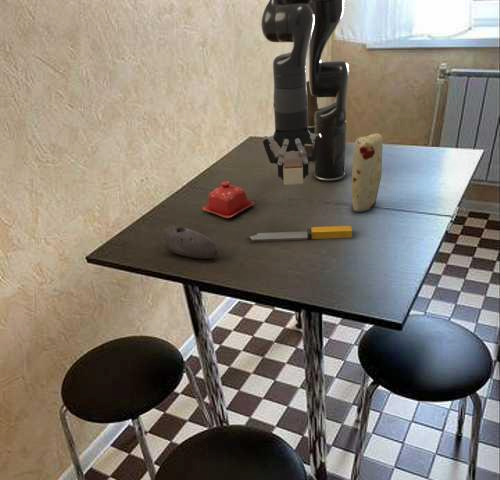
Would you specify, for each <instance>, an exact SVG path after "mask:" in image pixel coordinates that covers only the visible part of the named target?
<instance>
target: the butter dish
mask: <svg viewBox="0 0 500 480" xmlns="http://www.w3.org/2000/svg"><path fill="white" fill-rule="evenodd" d="M220 185H221V186H218V187H217V188H215V189H214V190H212V191H211V192H210V193H209V195H208V204H206V205H205V206H203V207H202V210H203V211H205V212H207V213H208V212H209V213H210V214H214V215H217V216H219V217H221V218H224V219H231V218H232V217H235V216H236V215H238V214H240V213H241V212H243V211H245V210H247V209H248V208H250V207H252V206H253V205H254V204H255V202H254V201H252V200H250V199H248V196H247V194H246V191H245V190H244V188H242V187H239V186H237V185H233V184H231V182H230V181H227V180H225V181H222V182H221V183H220Z"/></svg>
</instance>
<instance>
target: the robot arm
mask: <svg viewBox="0 0 500 480" xmlns="http://www.w3.org/2000/svg"><path fill="white" fill-rule="evenodd" d="M344 3H345V0H269V1H268V3H266V6H265V8H264V10H263V13H262V17H261V31H262V34H263V37H264V38H265V39H266V40H267V41H268V42H271V43H293V47H292V49H291V52H290V51H289V52H287V53H282V54H279V55H277V56H275V57H274V59H273V61H272V77H273V112H274V114H273V115H274V132H273V134H272V135H270V136H267V135H265V136H263V139H262V144H263V147H264V150H265V153H266V156H267V158H268V160H269V163H270V164H275V165H277V176H278V178H280V180H283V181H284V176H283V165H284V158H286V157H285V156H286V153H288V152H289V153H290V152H298V153H299V156H300V157H301V158H302V164H303V179H306V178H307V177H308V176H309V174H310V173H309V165H310V164H309V163H310V162H312V163H314V178H315V179H316V180H317V181H320V182H326V183H330V182H331V183H332V182H337V181H341V180H342V179H344V178H345V176H346V172H345V170H346V145H347V144H346V142H347V141H346V140H347V102H348V90H349V80H350V69H349V64H348V63H347V62H346V60H345V61H344V60H333V61H329V60H328V61H322V55H323V52H324V50H325V48H326V46H327V44H328V42H329V40H330V39H331V37H332V35H333V33H334V32H335V30H336V29H337V27H338V25H339V23H340V21H341V20H342V18H343V14H344V10H345V9H344V8H345V7H344V5H345V4H344ZM307 59H308V81H309V87H310V92H311V94H312V96H314V97H317V98H335V100H334V101H333V102H331V103H330V104H327V105H324V106H322V107H320V108H319V109H318V110H317V111H316V112H315V134H314V133H310V131H309V129H308V95H307V87H306V82H307ZM309 138H311V141H312V143H313V147H312V151H311V154H309V155H307V153H306V150H305V147H304V145H305V144H306V142H307V141H308V139H309ZM274 142H275V143H276V144H277V146H279V147H280V148H279V152H278V155H277V156H276V155H275V153H274V150H273V145H274Z"/></svg>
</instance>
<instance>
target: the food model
mask: <svg viewBox="0 0 500 480" xmlns="http://www.w3.org/2000/svg"><path fill="white" fill-rule="evenodd" d="M382 169H383V137H382V135H381V134H380V133H371V134H368V135H366V136H365V135H364V136H359V137H357V138H356V139H355V142H354V152H353V162H352V170H351V201H352V208H353V211H354V212H365V211H369V210H370V209H372V208H373V207H375V206H376V204H377V199H378V193H379V189H380V185H381V181H382Z"/></svg>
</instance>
